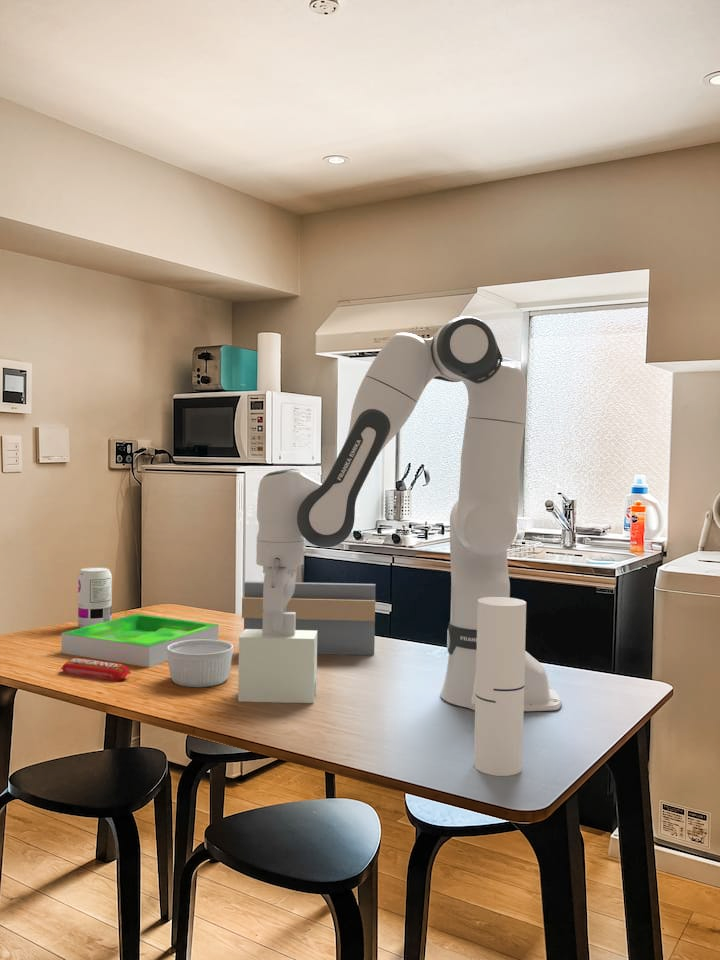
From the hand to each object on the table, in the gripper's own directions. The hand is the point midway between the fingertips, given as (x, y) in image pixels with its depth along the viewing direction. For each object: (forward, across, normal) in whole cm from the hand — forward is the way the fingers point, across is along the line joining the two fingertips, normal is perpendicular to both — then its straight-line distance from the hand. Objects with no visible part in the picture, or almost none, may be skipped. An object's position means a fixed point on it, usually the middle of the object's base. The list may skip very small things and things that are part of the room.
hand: (279, 628), depth 157 cm
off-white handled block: (+13, 0, 0) cm, 13 cm away
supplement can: (+13, +55, +54) cm, 78 cm away
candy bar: (+14, +12, +39) cm, 43 cm away
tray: (+14, +35, +36) cm, 52 cm away
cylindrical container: (+13, -32, -37) cm, 51 cm away
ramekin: (+13, +10, +17) cm, 24 cm away
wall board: (+13, +34, -3) cm, 37 cm away
